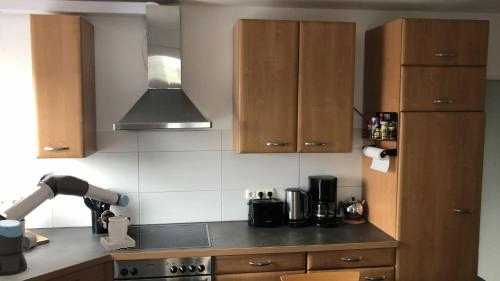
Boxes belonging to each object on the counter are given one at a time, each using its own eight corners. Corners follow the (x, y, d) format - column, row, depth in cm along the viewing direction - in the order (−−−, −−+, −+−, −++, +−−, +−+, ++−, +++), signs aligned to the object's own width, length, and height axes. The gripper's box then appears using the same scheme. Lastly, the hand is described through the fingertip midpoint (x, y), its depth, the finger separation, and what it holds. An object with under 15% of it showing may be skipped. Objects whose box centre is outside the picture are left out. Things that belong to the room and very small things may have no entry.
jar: (130, 242, 254) (131, 217, 253) (118, 247, 245) (119, 221, 244) (116, 240, 258) (116, 215, 258) (104, 244, 249) (104, 218, 248)
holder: (107, 251, 241) (107, 245, 240) (100, 243, 254) (100, 237, 254) (135, 247, 249) (135, 241, 249) (126, 239, 263) (126, 234, 262)
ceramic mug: (38, 246, 247) (37, 232, 246) (30, 250, 239) (30, 236, 238) (19, 245, 247) (19, 232, 247) (11, 250, 239) (11, 236, 238)
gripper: (127, 220, 279) (138, 228, 261) (87, 224, 266) (95, 233, 248) (127, 208, 279) (138, 215, 261) (87, 212, 265) (95, 220, 247)
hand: (117, 224), depth 254 cm, fingers open, 13 cm apart
